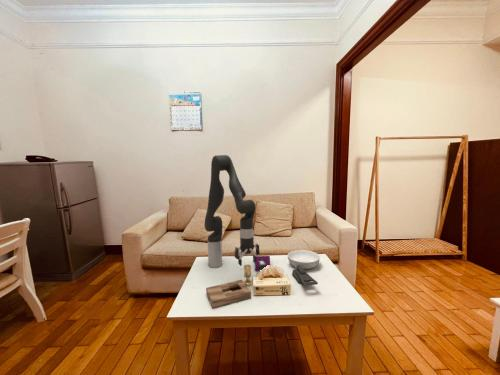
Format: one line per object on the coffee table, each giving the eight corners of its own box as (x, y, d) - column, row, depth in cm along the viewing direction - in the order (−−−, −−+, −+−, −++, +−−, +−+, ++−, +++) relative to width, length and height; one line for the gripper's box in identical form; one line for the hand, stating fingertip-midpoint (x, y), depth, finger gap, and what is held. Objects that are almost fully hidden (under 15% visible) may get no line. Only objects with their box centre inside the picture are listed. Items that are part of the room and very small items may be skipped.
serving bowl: (306, 256, 171) (306, 247, 170) (326, 268, 152) (326, 258, 151) (281, 262, 162) (281, 252, 161) (300, 275, 143) (300, 264, 142)
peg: (242, 283, 135) (242, 265, 134) (249, 281, 137) (249, 263, 136) (245, 286, 131) (245, 268, 130) (252, 285, 133) (252, 266, 132)
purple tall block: (254, 269, 164) (255, 270, 147) (254, 257, 167) (255, 256, 150) (268, 269, 164) (270, 269, 147) (267, 257, 167) (269, 255, 150)
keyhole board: (206, 294, 124) (206, 287, 124) (241, 286, 132) (241, 279, 132) (212, 308, 112) (212, 301, 112) (251, 298, 120) (250, 291, 120)
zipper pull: (302, 283, 121) (291, 262, 146) (302, 295, 122) (290, 272, 147) (319, 282, 122) (305, 262, 147) (319, 294, 123) (304, 272, 148)
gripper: (255, 232, 137) (256, 259, 139) (232, 235, 131) (233, 263, 133) (261, 235, 130) (261, 263, 132) (237, 239, 125) (238, 269, 126)
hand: (247, 263), depth 133 cm, fingers open, 8 cm apart
